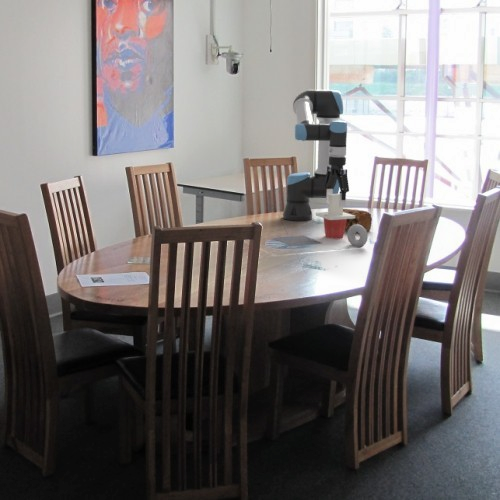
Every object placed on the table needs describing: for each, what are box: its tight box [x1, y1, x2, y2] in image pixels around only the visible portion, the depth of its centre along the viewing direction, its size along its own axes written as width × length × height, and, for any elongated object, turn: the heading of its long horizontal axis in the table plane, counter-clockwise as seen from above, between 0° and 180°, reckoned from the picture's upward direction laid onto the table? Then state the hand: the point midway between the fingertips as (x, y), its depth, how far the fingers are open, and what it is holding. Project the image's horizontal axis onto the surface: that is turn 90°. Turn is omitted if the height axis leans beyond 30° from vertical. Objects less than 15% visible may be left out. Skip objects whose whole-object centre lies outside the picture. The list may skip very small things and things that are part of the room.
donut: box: [346, 224, 369, 248], centre depth 346 cm, size 10×4×10 cm, turn 47°
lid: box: [315, 193, 355, 220], centre depth 363 cm, size 13×13×10 cm
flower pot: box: [323, 218, 347, 239], centre depth 365 cm, size 11×11×10 cm
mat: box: [272, 235, 323, 247], centre depth 356 cm, size 18×16×1 cm
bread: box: [343, 208, 373, 234], centre depth 386 cm, size 19×11×10 cm, turn 39°
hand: (335, 205), depth 363 cm, fingers open, 11 cm apart
